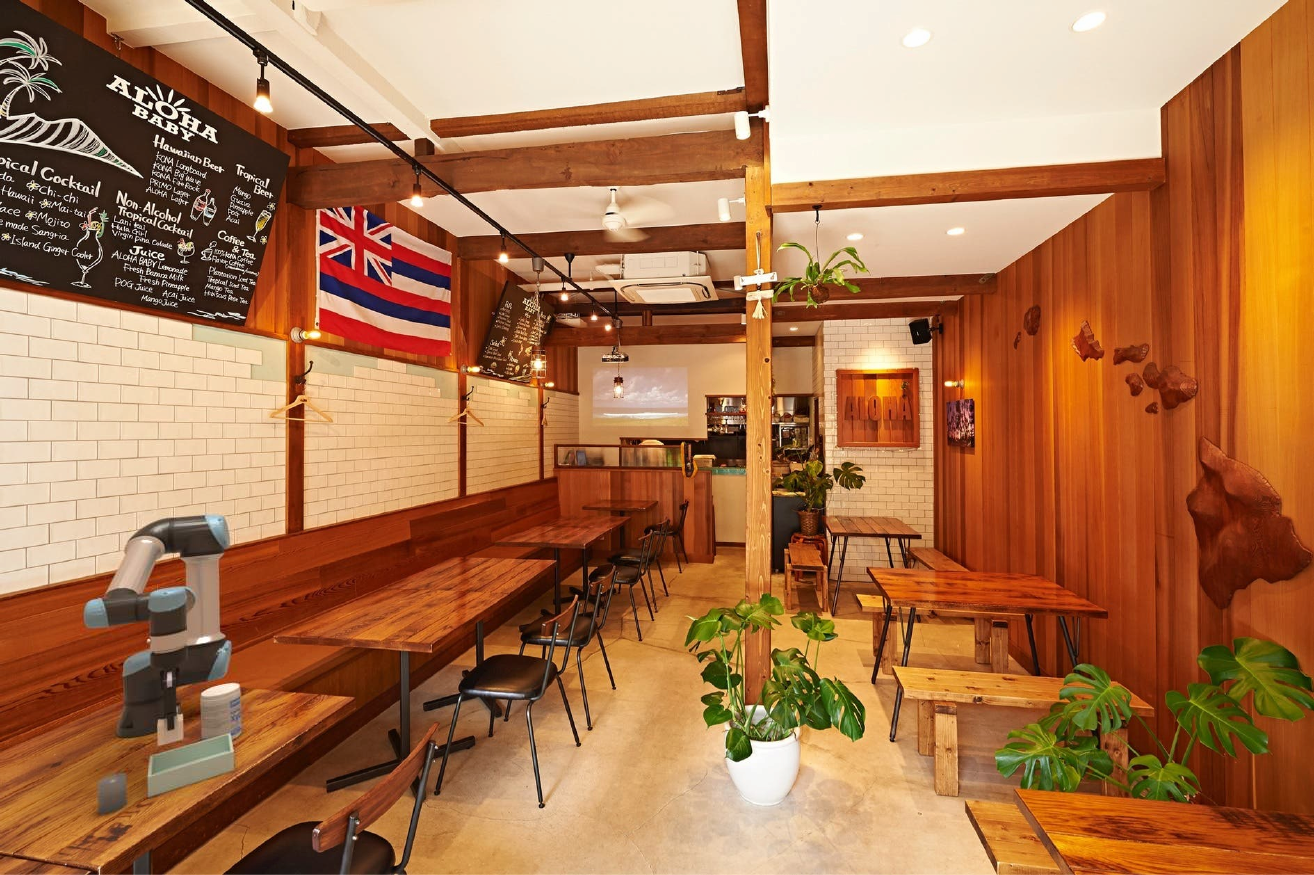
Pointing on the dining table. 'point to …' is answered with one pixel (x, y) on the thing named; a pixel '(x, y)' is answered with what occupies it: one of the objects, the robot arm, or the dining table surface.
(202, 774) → the teal tote
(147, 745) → the dining table surface
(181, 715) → the tan cube
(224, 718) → the supplement tub
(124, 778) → the charcoal cylinder
